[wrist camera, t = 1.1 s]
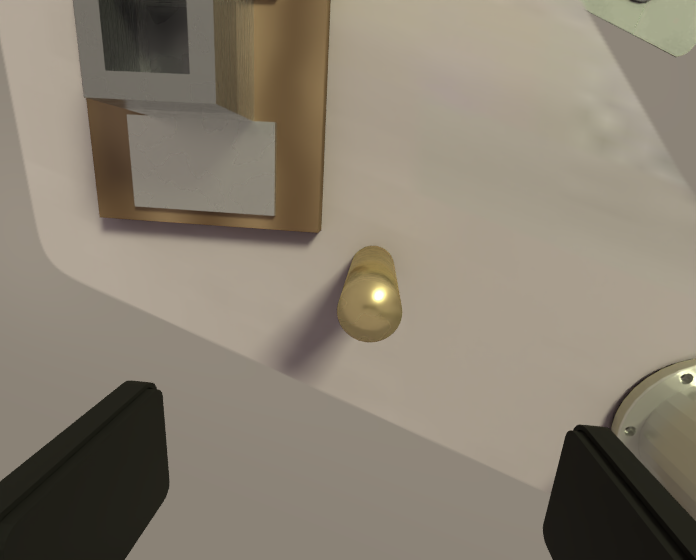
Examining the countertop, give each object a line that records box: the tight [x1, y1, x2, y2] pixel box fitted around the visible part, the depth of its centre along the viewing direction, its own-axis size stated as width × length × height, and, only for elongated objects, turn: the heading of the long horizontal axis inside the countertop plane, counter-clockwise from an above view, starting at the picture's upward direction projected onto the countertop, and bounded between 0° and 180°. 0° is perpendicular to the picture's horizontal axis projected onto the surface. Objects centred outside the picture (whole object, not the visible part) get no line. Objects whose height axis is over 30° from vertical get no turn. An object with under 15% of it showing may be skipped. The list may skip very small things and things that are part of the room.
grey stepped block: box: [73, 0, 277, 216], centre depth 21 cm, size 10×19×6 cm, turn 177°
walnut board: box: [86, 0, 330, 233], centre depth 25 cm, size 16×21×2 cm
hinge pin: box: [337, 246, 402, 342], centre depth 23 cm, size 3×3×10 cm
